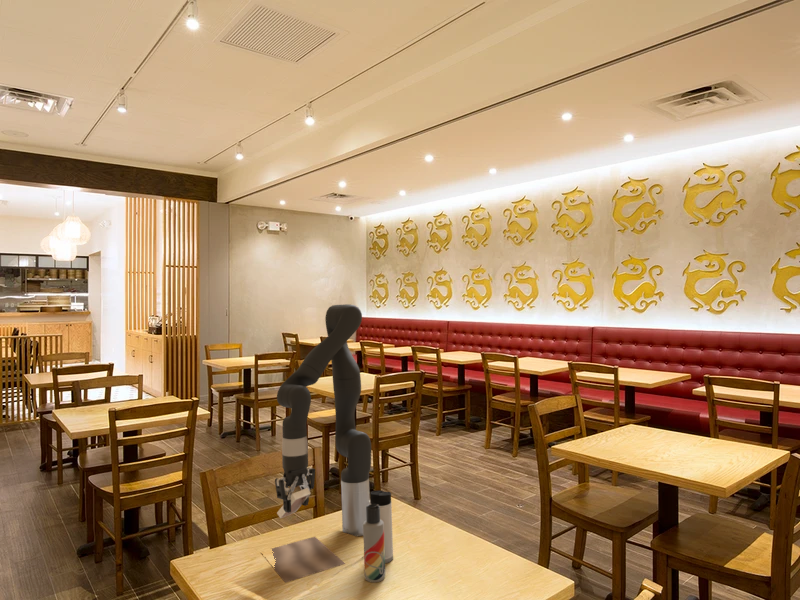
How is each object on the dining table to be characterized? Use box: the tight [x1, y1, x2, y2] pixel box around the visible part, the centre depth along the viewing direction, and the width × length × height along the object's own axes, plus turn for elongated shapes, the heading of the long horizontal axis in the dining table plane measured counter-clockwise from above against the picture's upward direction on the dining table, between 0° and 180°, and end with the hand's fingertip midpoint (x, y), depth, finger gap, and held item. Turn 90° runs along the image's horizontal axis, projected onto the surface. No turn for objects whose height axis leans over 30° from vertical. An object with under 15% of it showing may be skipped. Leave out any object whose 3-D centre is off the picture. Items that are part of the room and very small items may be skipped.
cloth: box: [271, 536, 346, 583], centre depth 159 cm, size 18×22×1 cm
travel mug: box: [369, 490, 394, 564], centre depth 159 cm, size 6×7×20 cm
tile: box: [276, 488, 311, 519], centre depth 161 cm, size 2×6×10 cm
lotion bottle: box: [362, 503, 386, 583], centre depth 148 cm, size 6×6×20 cm
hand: (296, 508), depth 160 cm, fingers closed on tile, 6 cm apart
